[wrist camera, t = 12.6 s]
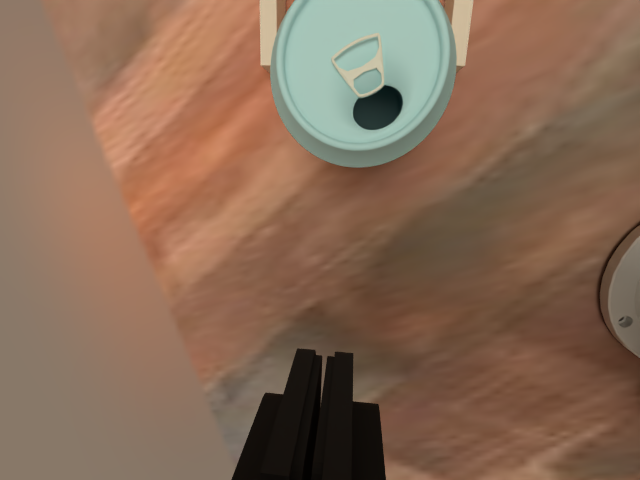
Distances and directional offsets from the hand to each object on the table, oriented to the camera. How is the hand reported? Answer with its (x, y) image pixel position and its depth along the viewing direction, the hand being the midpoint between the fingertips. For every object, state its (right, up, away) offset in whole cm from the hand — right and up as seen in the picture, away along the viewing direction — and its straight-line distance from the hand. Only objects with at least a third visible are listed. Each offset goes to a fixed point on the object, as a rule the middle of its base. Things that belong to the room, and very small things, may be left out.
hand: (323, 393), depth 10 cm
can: (+3, +14, +13) cm, 19 cm away
